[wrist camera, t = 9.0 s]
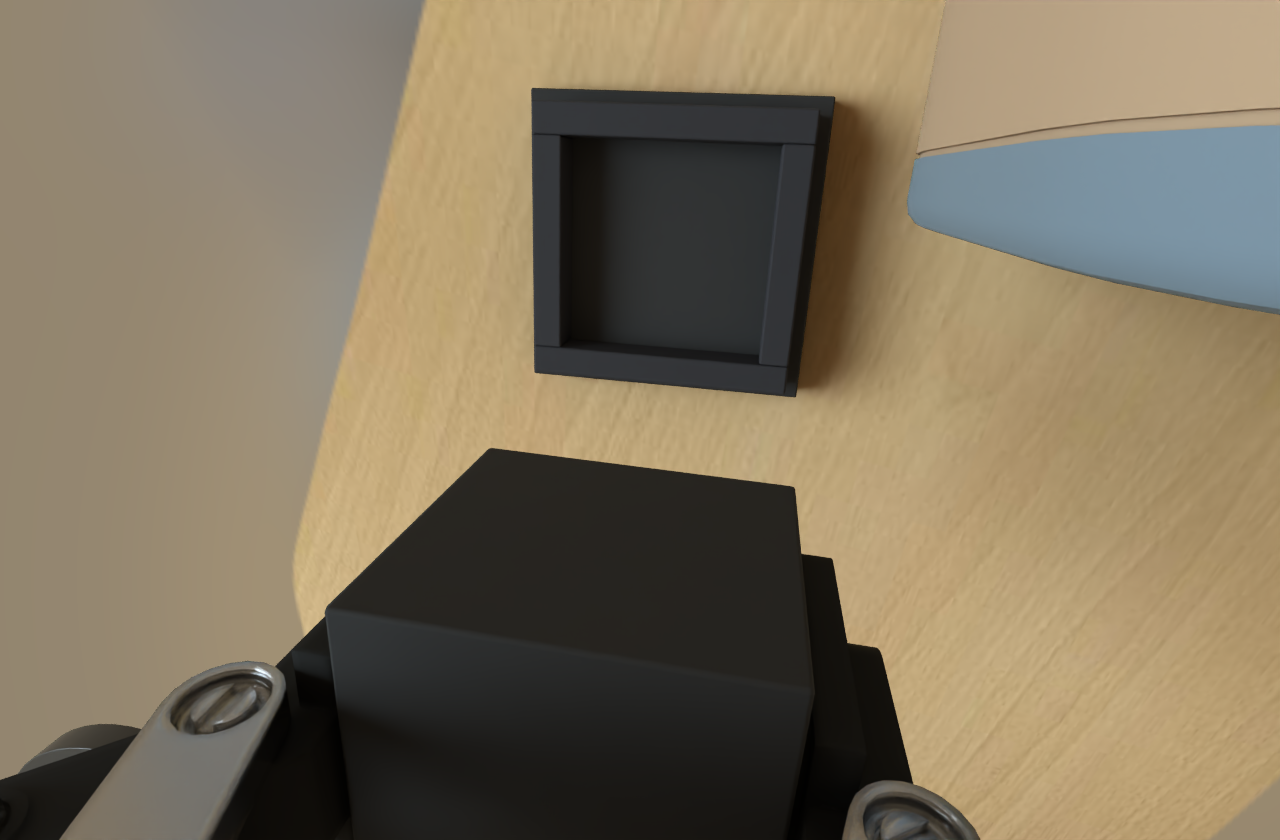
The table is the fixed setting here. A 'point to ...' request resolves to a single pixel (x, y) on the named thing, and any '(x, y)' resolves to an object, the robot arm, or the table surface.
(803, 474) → the table surface
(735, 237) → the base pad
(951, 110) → the alarm clock
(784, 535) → the black cube
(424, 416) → the table surface
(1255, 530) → the table surface
